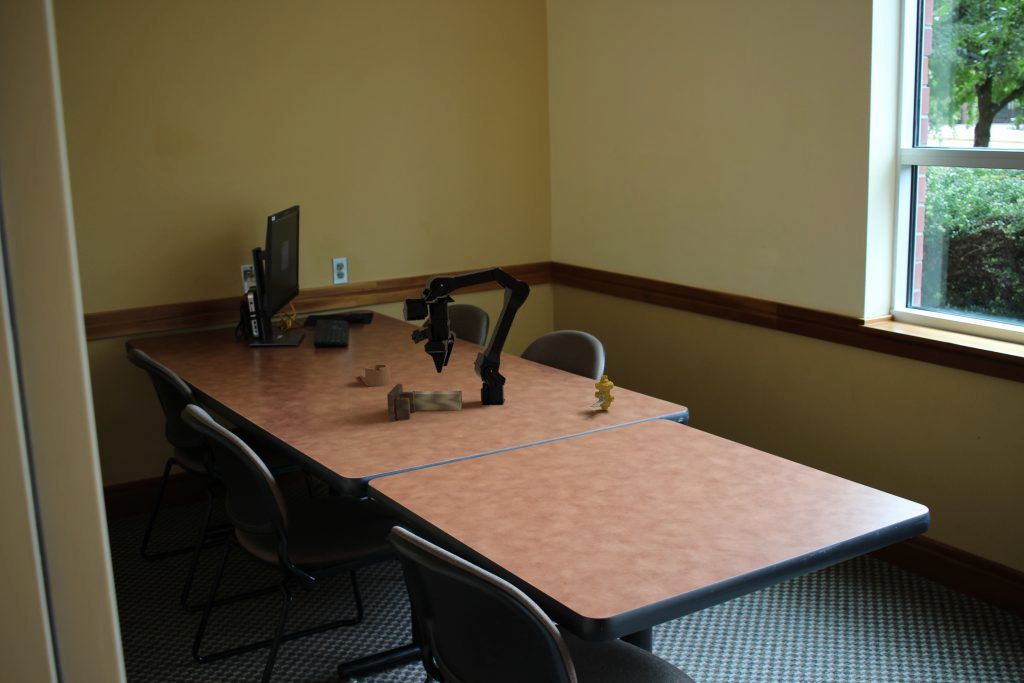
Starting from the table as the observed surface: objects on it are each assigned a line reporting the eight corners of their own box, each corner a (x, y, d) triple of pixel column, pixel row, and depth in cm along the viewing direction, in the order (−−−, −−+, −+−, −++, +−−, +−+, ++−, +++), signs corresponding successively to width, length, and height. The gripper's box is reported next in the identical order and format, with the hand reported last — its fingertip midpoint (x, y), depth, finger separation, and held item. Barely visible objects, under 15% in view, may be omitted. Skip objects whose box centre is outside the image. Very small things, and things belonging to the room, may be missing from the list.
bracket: (393, 387, 331) (392, 367, 329) (368, 390, 328) (367, 369, 327) (382, 377, 347) (381, 358, 346) (358, 379, 345) (357, 360, 344)
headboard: (416, 409, 300) (415, 383, 298) (407, 421, 286) (406, 394, 285) (398, 409, 300) (397, 383, 299) (388, 421, 287) (387, 394, 285)
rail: (462, 406, 301) (461, 390, 301) (460, 410, 298) (459, 393, 297) (413, 407, 303) (412, 391, 302) (411, 410, 299) (410, 394, 298)
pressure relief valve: (616, 407, 294) (615, 374, 293) (602, 417, 284) (602, 383, 282) (598, 406, 297) (598, 373, 295) (584, 416, 286) (583, 381, 284)
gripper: (419, 313, 306) (422, 363, 309) (405, 324, 288) (409, 377, 290) (454, 312, 304) (457, 362, 307) (443, 323, 286) (446, 376, 289)
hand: (442, 369), depth 298 cm, fingers open, 9 cm apart
